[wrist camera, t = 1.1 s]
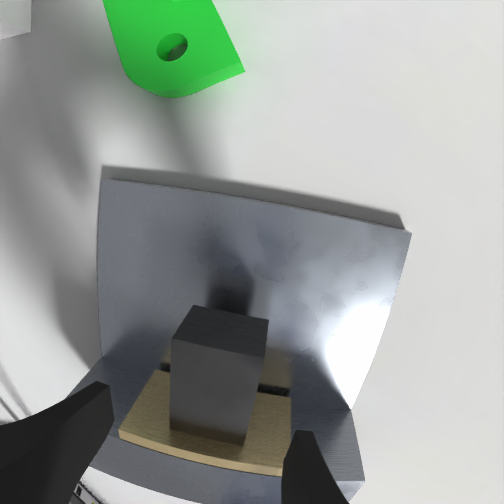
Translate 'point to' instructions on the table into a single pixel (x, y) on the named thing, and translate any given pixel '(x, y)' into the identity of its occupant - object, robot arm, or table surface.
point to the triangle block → (15, 17)
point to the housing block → (246, 303)
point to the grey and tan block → (214, 398)
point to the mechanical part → (172, 44)
